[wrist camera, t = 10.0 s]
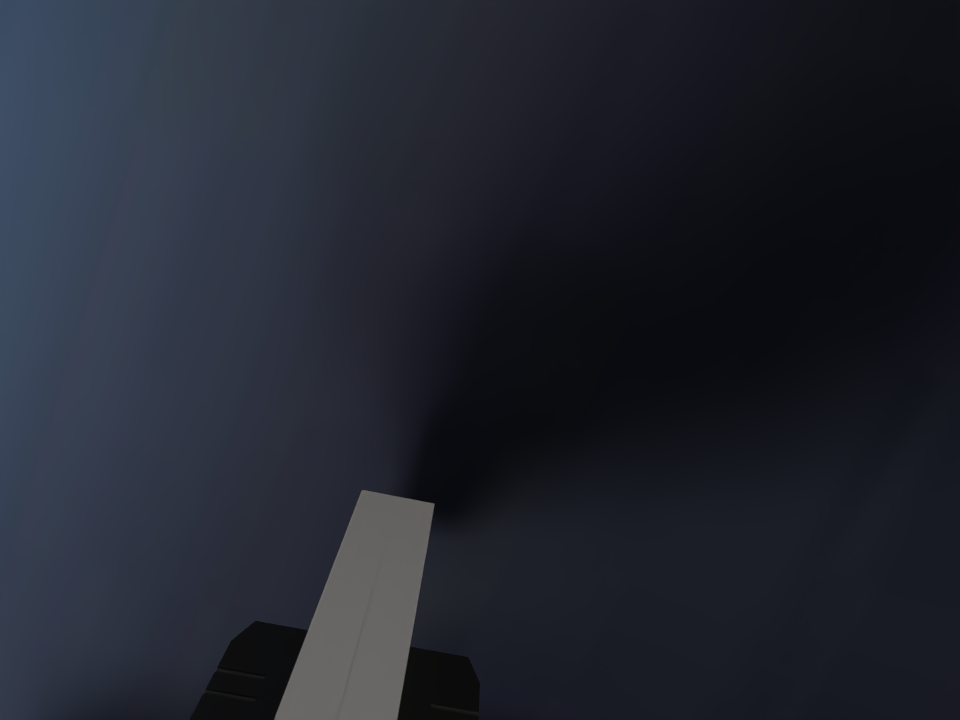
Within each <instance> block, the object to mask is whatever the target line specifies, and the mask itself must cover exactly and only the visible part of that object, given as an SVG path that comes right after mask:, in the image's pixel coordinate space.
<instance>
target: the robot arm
mask: <svg viewBox="0 0 960 720" xmlns="http://www.w3.org/2000/svg"><path fill="white" fill-rule="evenodd" d="M433 510H434V503H429V502H423V501H418V500H413V499H407V498H402V497H397V496H391V495H386V494H381V493H376V492H370V491H365V490H362V491H361V494H360V496H359V499H358V502H357V504H356V507H355V510H354V512H353V515H352V517H351V520H350V523H349V525H348V528H347V530H346V533H345V536H344V538H343V541H342V544H341V546H340V549H339V551H338V554H337V557H336V559H335V562H334V564H333V567H332V570H331V572H330V575H329V577H328V580H327V583H326V585H325V588H324V591H323V593H322V596H321V598H320V601H319V604H318V606H317V609H316V611H315V614H314V617H313V619H312V622H311V624H310V627H309V630H303V629H297V628H292V627H286V626H281V625H275V624H270V623H264V622H259V621H255V622H254V623H252V624H251V625H250V626H249V627H248V628H246V629H245V630H244V631H243V632H241V633H240V634H239V635H238V636H237V637H235V638H234V639H233V640H232V641H231V642H230V644H229V646H228V648H227V650H226V652H225V654H224V656H223V658H222V659H221V661H220V663H219V665H218V668H217V671H216V672H215V673H214V675H213V677H212V678H211V680H210V682H209V684H208V686H207V688H206V692H205V694H203V696H202V697H201V699H200V701H199V703H198V705H197V707H196V709H195V711H194V713H193V715H192V716H191V718H190V720H478V719H479V716H478V712H479V690H480V683H479V680H478V678H477V676H476V674H475V671H474V669H473V667H472V665H471V662H470V660H469V658H468V657H464V656H458V655H453V654H447V653H442V652H436V651H431V650H425V649H420V648H414V647H410V643H411V637H412V631H413V625H414V620H415V614H416V608H417V602H418V597H419V591H420V585H421V579H422V574H423V568H424V562H425V556H426V551H427V545H428V539H429V533H430V527H431V522H432V516H433Z"/></svg>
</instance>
